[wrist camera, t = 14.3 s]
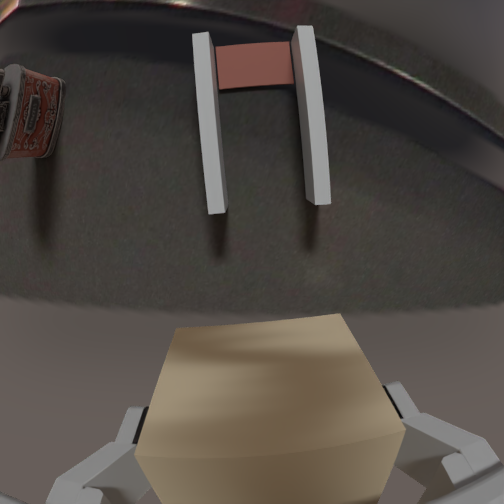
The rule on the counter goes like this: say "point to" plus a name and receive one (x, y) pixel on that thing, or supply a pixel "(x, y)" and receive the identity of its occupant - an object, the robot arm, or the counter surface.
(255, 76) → the trap pad
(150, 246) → the counter surface
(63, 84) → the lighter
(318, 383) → the maple block
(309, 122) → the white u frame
